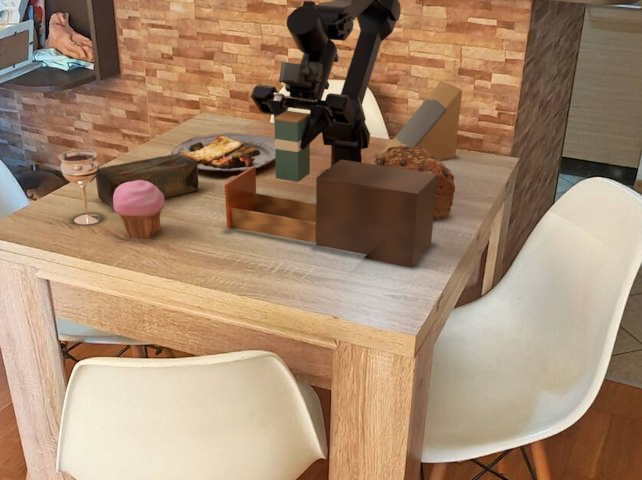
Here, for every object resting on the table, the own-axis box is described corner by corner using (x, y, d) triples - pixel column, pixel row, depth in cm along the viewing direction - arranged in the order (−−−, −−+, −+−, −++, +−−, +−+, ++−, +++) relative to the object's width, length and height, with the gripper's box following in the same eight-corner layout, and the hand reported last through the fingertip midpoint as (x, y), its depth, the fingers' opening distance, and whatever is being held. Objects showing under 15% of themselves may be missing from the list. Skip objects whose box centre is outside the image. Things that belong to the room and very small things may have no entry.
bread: (453, 219, 153) (458, 167, 148) (398, 224, 151) (402, 171, 146) (421, 185, 169) (424, 137, 163) (371, 189, 167) (373, 140, 161)
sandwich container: (377, 156, 185) (380, 87, 176) (434, 147, 190) (440, 80, 182) (397, 167, 178) (401, 96, 170) (455, 157, 184) (462, 88, 176)
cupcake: (152, 248, 142) (146, 193, 136) (108, 242, 144) (100, 187, 139) (175, 229, 149) (170, 176, 143) (133, 223, 151) (126, 170, 146)
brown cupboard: (315, 249, 142) (316, 177, 135) (339, 227, 150) (341, 159, 143) (411, 267, 136) (417, 193, 129) (431, 244, 144) (437, 173, 137)
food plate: (236, 186, 168) (236, 169, 166) (150, 166, 178) (148, 150, 176) (302, 154, 186) (302, 138, 184) (220, 137, 196) (219, 122, 194)
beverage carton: (201, 191, 165) (199, 159, 162) (113, 212, 156) (108, 178, 152) (182, 180, 171) (179, 148, 167) (96, 200, 161) (91, 167, 158)
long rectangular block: (275, 178, 150) (273, 117, 144) (287, 169, 154) (286, 110, 148) (298, 182, 149) (297, 121, 142) (310, 173, 152) (310, 113, 146)
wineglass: (67, 215, 154) (56, 152, 148) (103, 210, 156) (94, 148, 150) (71, 228, 149) (60, 163, 143) (108, 223, 151) (99, 159, 145)
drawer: (220, 229, 148) (217, 182, 144) (247, 209, 156) (245, 165, 152) (315, 247, 142) (316, 199, 137) (339, 226, 150) (340, 180, 145)
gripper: (253, 37, 145) (225, 116, 143) (350, 47, 138) (323, 130, 136) (274, 74, 155) (249, 148, 153) (366, 84, 149) (341, 162, 147)
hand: (288, 146), depth 147 cm, fingers closed on long rectangular block, 4 cm apart
